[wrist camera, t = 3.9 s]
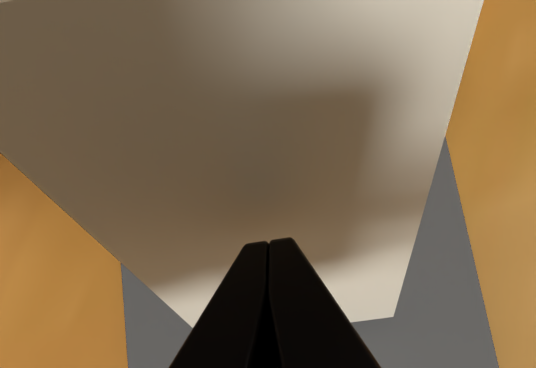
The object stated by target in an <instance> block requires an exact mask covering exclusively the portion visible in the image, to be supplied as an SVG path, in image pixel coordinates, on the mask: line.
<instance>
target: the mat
mask: <svg viewBox="0 0 536 368" xmlns="http://www.w3.org/2000/svg"><path fill="white" fill-rule="evenodd" d="M121 271H122V286H123V300H124V314H125V329H126V343H127V357H128V368H169V366H170V364H171V363H172V361H173V360H174V358H175V356H176V355H177V353H178V351H179V350H180V348H181V347H182V345H183V343H184V342H185V340H186V338H187V337H188V335H189V334H190V332H191V330H192V329H193V328H192V327H191V326H190V325H189V324H188V323H187V322H186V321H184V320H183V319H182V318H181V317H180V316H179V315H178V314H177V313H176V312H175V311H174V310H172V309H171V308H170V307H169V306H168V305H167V304H166V303H165V302H164V301H163V300H161V299H160V298H159V297H158V296H157V295H156V294H155V293H154V292H153V291H152V290H150V289H149V288H148V287H147V286H146V285H145V284H144V283H143V282H142V281H141V280H140V279H138V278H137V277H136V276H135V275H134V274H133V273H132V272H131V271H130V270H129V269H127V268H126V267H125V266H124V265H123V264H122V263H121ZM351 324H352V325H353V327H354V328H355V330H356V331H357V332H358V334H359V335H360V337H361V338H362V340H363V341H364V343H365V344H366V346H367V347H368V349H369V350H370V352H371V353H372V354H373V356H374V357H375V359H376V360H377V362H378V363H379V365H380V366H381V368H499V366H498V361H497V357H496V353H495V348H494V344H493V340H492V335H491V331H490V327H489V322H488V318H487V314H486V310H485V305H484V301H483V297H482V292H481V288H480V284H479V279H478V275H477V271H476V266H475V262H474V258H473V253H472V249H471V245H470V240H469V236H468V232H467V228H466V223H465V219H464V215H463V210H462V206H461V202H460V197H459V193H458V189H457V184H456V180H455V176H454V171H453V167H452V163H451V158H450V154H449V150H448V146H447V141H446V137H445V138H444V141H443V145H442V148H441V152H440V155H439V159H438V162H437V166H436V169H435V173H434V176H433V180H432V183H431V187H430V190H429V194H428V197H427V201H426V204H425V208H424V211H423V215H422V218H421V222H420V225H419V229H418V232H417V236H416V239H415V243H414V246H413V250H412V253H411V257H410V260H409V264H408V267H407V271H406V274H405V278H404V281H403V285H402V288H401V292H400V295H399V299H398V302H397V306H396V309H395V313H394V316H393V317H388V318H381V319H373V320H365V321H358V322H351Z"/></svg>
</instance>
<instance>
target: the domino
mask: <svg viewBox="0 0 536 368" xmlns="http://www.w3.org/2000/svg"><path fill="white" fill-rule="evenodd" d="M483 1H484V0H0V153H1V154H2V155H4V156H5V157H6V158H7V159H8V160H9V161H10V162H11V163H12V164H13V165H14V166H16V167H17V168H18V169H19V170H20V171H21V172H22V173H23V174H24V175H25V176H27V177H28V178H29V179H30V180H31V181H32V182H33V183H34V184H35V185H36V186H38V187H39V188H40V189H41V190H42V191H43V192H44V193H45V194H46V195H47V196H48V197H50V198H51V199H52V200H53V201H54V202H55V203H56V204H57V205H58V206H59V207H61V208H62V209H63V210H64V211H65V212H66V213H67V214H68V215H69V216H70V217H72V218H73V219H74V220H75V221H76V222H77V223H78V224H79V225H80V226H81V227H82V228H84V229H85V230H86V231H87V232H88V233H89V234H90V235H91V236H92V237H93V238H95V239H96V240H97V241H98V242H99V243H100V244H101V245H102V246H103V247H104V248H106V249H107V250H108V251H109V252H110V253H111V254H112V255H113V256H114V257H115V258H116V259H118V260H119V261H120V262H121V263H122V264H123V265H124V266H125V267H126V268H127V269H129V270H130V271H131V272H132V273H133V274H134V275H135V276H136V277H137V278H138V279H140V280H141V281H142V282H143V283H144V284H145V285H146V286H147V287H148V288H149V289H150V290H152V291H153V292H154V293H155V294H156V295H157V296H158V297H159V298H160V299H161V300H163V301H164V302H165V303H166V304H167V305H168V306H169V307H170V308H171V309H172V310H174V311H175V312H176V313H177V314H178V315H179V316H180V317H181V318H182V319H183V320H184V321H186V322H187V323H188V324H189V325H190V326H191V327H192V328H193V327H194V325H195V324H196V322H197V321H198V319H199V317H200V316H201V314H202V312H203V311H204V309H205V308H206V306H207V304H208V303H209V301H210V299H211V298H212V296H213V295H214V293H215V291H216V290H217V288H218V286H219V285H220V283H221V282H222V280H223V278H224V277H225V275H226V273H227V272H228V270H229V269H230V267H231V265H232V264H233V262H234V260H235V259H236V257H237V256H238V254H239V252H240V251H241V249H242V247H243V246H244V245H245V244H247V243H252V242H259V241H267V242H268V243H270V241H271V240H273V239H280V238H287V237H291V238H293V239H294V240H295V242H296V243H297V244H298V246H299V247H300V249H301V250H302V252H303V253H304V255H305V256H306V258H307V259H308V261H309V262H310V264H311V265H312V266H313V268H314V269H315V271H316V272H317V274H318V275H319V277H320V278H321V280H322V281H323V283H324V284H325V286H326V287H327V288H328V290H329V291H330V293H331V294H332V296H333V297H334V299H335V300H336V302H337V303H338V305H339V306H340V308H341V309H342V310H343V312H344V313H345V315H346V316H347V318H348V319H349V321H350V322H358V321H365V320H373V319H381V318H388V317H393V316H394V313H395V309H396V306H397V302H398V299H399V295H400V292H401V288H402V285H403V281H404V278H405V274H406V271H407V267H408V264H409V260H410V257H411V253H412V250H413V246H414V243H415V239H416V236H417V232H418V229H419V225H420V222H421V218H422V215H423V211H424V208H425V204H426V201H427V197H428V194H429V190H430V187H431V183H432V180H433V176H434V173H435V169H436V166H437V162H438V159H439V155H440V152H441V148H442V145H443V141H444V138H445V134H446V131H447V127H448V124H449V120H450V117H451V113H452V110H453V106H454V103H455V99H456V96H457V92H458V89H459V85H460V82H461V78H462V75H463V71H464V68H465V64H466V61H467V57H468V54H469V50H470V47H471V43H472V40H473V36H474V32H475V29H476V25H477V22H478V18H479V15H480V11H481V8H482V4H483Z"/></svg>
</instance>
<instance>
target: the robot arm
mask: <svg viewBox="0 0 536 368" xmlns="http://www.w3.org/2000/svg"><path fill="white" fill-rule="evenodd" d="M169 368H381V366H380V365H379V363H378V362H377V360H376V359H375V357H374V356H373V354H372V353H371V352H370V350H369V349H368V347H367V346H366V344H365V343H364V341H363V340H362V338H361V337H360V335H359V334H358V332H357V331H356V330H355V328H354V327H353V325H352V324H351V322H350V321H349V319H348V318H347V316H346V315H345V313H344V312H343V310H342V309H341V308H340V306H339V305H338V303H337V302H336V300H335V299H334V297H333V296H332V294H331V293H330V291H329V290H328V288H327V287H326V286H325V284H324V283H323V281H322V280H321V278H320V277H319V275H318V274H317V272H316V271H315V269H314V268H313V266H312V265H311V264H310V262H309V261H308V259H307V258H306V256H305V255H304V253H303V252H302V250H301V249H300V247H299V246H298V244H297V243H296V242H295V240H294V239H293V238H291V237H287V238H280V239H273V240H271V241H270V243H268V242H267V241H259V242H252V243H247V244H245V245H244V246H243V247H242V249H241V251H240V252H239V254H238V256H237V257H236V259H235V260H234V262H233V264H232V265H231V267H230V269H229V270H228V272H227V273H226V275H225V277H224V278H223V280H222V282H221V283H220V285H219V286H218V288H217V290H216V291H215V293H214V295H213V296H212V298H211V299H210V301H209V303H208V304H207V306H206V308H205V309H204V311H203V312H202V314H201V316H200V317H199V319H198V321H197V322H196V324H195V325H194V327H193V329H192V330H191V332H190V334H189V335H188V337H187V338H186V340H185V342H184V343H183V345H182V347H181V348H180V350H179V351H178V353H177V355H176V356H175V358H174V360H173V361H172V363H171V364H170V366H169Z"/></svg>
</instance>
